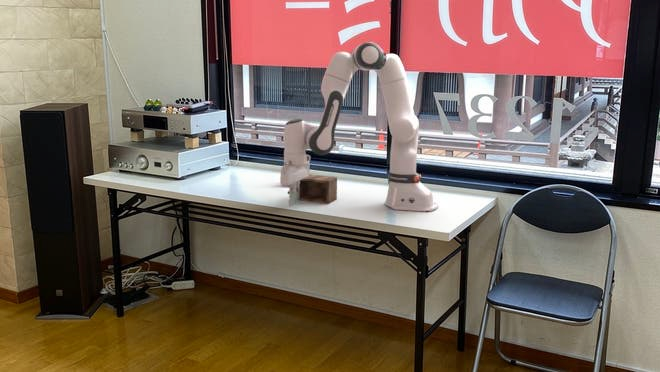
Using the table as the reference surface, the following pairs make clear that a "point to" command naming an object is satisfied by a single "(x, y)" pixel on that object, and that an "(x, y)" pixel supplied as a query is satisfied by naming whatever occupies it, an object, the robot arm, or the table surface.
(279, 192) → the table surface
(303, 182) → the walnut cabinet
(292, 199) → the cabinet door
